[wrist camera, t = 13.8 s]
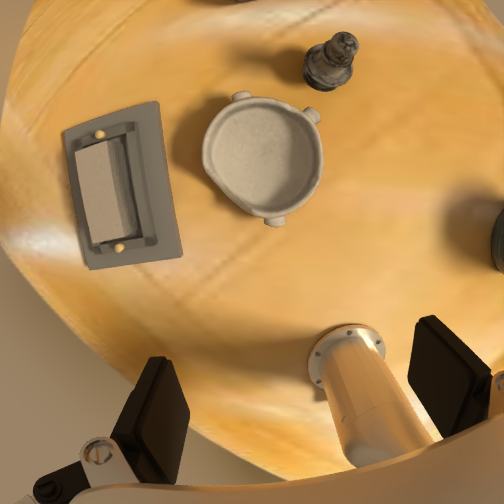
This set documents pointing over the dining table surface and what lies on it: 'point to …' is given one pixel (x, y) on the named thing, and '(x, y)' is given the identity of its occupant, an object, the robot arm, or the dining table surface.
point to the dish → (264, 155)
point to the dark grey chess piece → (330, 62)
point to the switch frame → (143, 186)
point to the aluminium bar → (106, 191)
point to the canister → (498, 243)
